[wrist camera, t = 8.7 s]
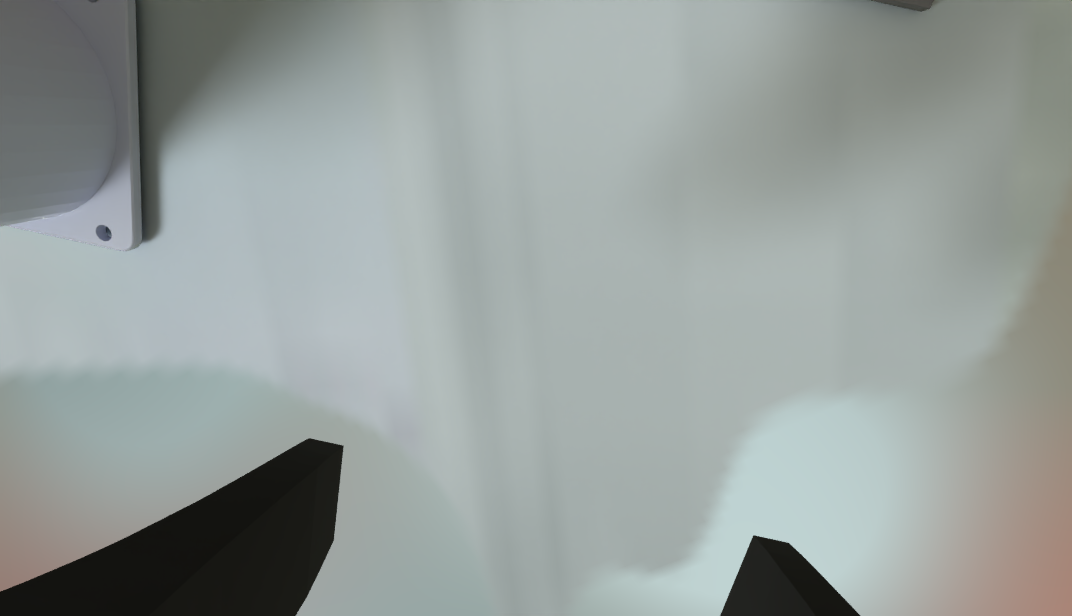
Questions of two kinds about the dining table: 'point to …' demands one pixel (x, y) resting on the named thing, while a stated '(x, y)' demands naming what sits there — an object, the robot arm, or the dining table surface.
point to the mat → (909, 4)
